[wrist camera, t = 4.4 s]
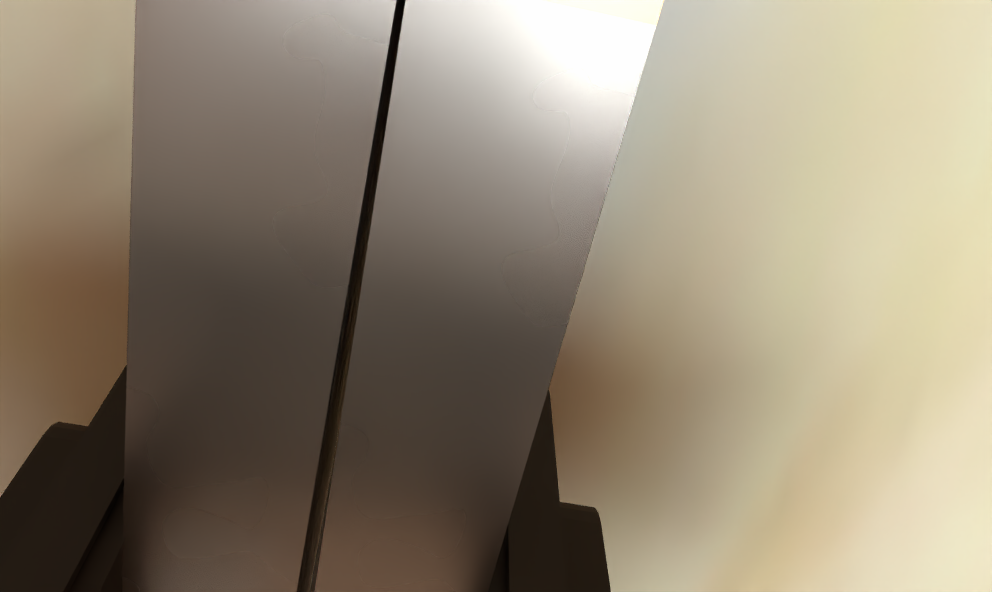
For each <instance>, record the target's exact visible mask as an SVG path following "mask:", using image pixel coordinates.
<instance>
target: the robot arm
mask: <svg viewBox="0 0 992 592" xmlns="http://www.w3.org/2000/svg"><path fill="white" fill-rule="evenodd" d="M126 382H127V365H126V367H125V368H124V370H123V372H122V373H121V375H120V376H119V378H118V380H117V381H116V383H115V384H114V386H113V388H112V389H111V391H110V392H109V394H108V396H107V397H106V399H105V400H104V402H103V404H102V405H101V407H100V408H99V410H98V412H97V413H96V415H95V416H94V418H93V420H92V421H91V423H90V424H89V426H88V427H87V426H81V425H75V424H68V423H62V422H57V423H56V424H54V425H52V426H51V427H50V428H49V429H48V430H47V431H46V432H45V434H44V435H43V436H42V437H41V439H40V440H39V442H38V443H37V445H36V446H35V448H34V449H33V451H32V452H31V453H30V455H29V456H28V458H27V459H26V461H25V462H24V464H23V465H22V467H21V468H20V469H19V471H18V472H17V474H16V475H15V477H14V478H13V480H12V481H11V483H10V484H9V485H8V487H7V488H6V490H5V491H4V493H3V494H2V496H1V497H0V592H122V547H123V505H124V464H125V423H126ZM488 592H611V590H610V583H609V576H608V569H607V562H606V555H605V548H604V541H603V534H602V527H601V522H600V518H599V513H598V512H597V510H596V509H595V508H594V507H587V506H581V505H575V504H569V503H562V502H560V501H559V490H558V479H557V468H556V457H555V446H554V435H553V424H552V413H551V402H550V394H549V390H548V391H547V395H546V398H545V401H544V405H543V408H542V412H541V415H540V418H539V422H538V425H537V428H536V432H535V435H534V438H533V442H532V445H531V449H530V452H529V455H528V459H527V462H526V465H525V469H524V472H523V475H522V479H521V482H520V485H519V489H518V492H517V496H516V499H515V502H514V506H513V509H512V512H511V516H510V519H509V522H508V526H507V529H506V533H505V536H504V539H503V543H502V546H501V549H500V553H499V556H498V559H497V563H496V566H495V570H494V573H493V576H492V580H491V583H490V586H489V590H488Z"/></svg>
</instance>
